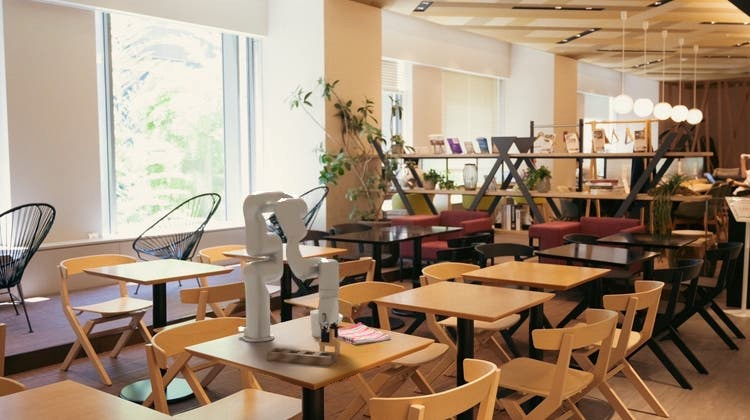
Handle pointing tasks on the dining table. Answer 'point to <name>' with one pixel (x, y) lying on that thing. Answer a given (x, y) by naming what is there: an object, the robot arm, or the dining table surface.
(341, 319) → the white bowl
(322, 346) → the clip
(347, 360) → the dining table surface
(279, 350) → the wooden compartment tray
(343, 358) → the dining table surface
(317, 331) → the white cup
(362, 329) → the dish towel
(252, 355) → the dining table surface
